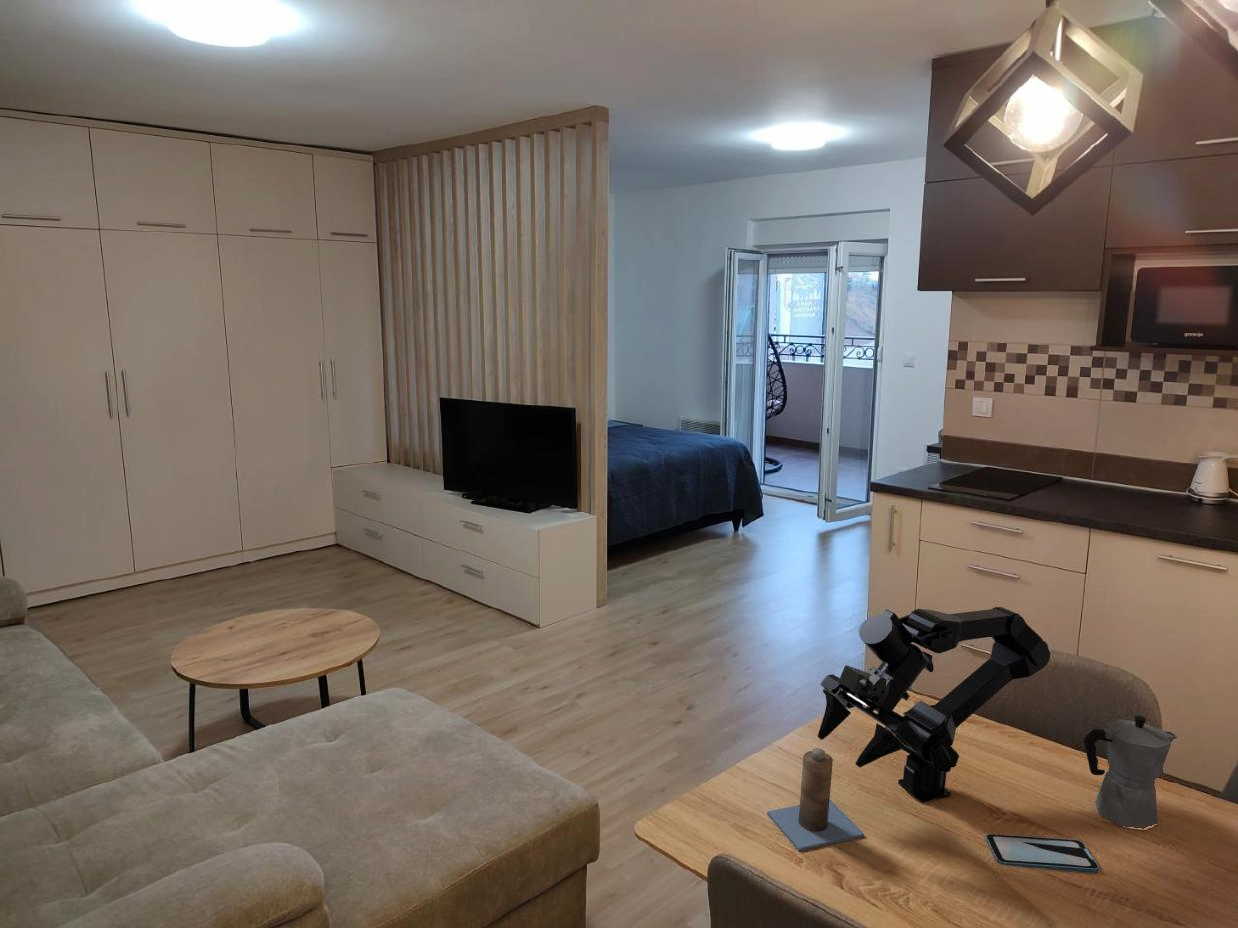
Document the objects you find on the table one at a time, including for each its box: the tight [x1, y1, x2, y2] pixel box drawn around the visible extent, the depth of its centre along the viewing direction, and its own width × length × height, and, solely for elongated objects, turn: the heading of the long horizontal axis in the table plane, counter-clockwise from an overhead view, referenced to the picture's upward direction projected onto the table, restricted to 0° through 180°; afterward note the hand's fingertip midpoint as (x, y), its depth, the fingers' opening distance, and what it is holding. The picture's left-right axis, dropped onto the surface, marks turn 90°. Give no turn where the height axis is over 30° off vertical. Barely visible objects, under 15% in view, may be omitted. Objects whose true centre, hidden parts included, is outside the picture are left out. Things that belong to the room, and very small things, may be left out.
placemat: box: [766, 799, 865, 852], centre depth 139 cm, size 12×10×1 cm
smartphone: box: [984, 833, 1100, 874], centre depth 133 cm, size 7×1×15 cm
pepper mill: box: [799, 747, 834, 832], centre depth 137 cm, size 5×5×13 cm
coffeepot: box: [1083, 714, 1178, 829], centre depth 141 cm, size 15×9×18 cm, turn 92°
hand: (837, 751), depth 138 cm, fingers open, 9 cm apart
